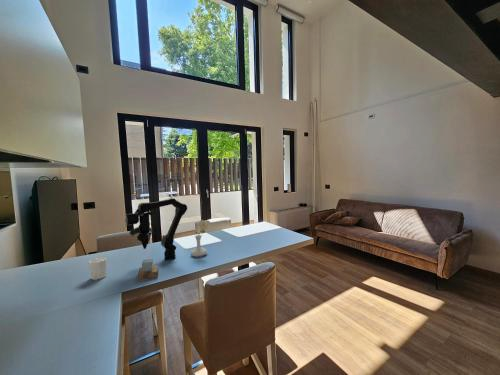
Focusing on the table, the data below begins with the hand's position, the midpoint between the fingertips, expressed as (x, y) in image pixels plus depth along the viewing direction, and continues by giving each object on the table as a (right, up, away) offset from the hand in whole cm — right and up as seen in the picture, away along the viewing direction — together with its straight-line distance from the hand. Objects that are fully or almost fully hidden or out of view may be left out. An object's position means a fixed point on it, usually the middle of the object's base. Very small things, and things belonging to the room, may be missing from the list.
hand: (145, 246), depth 134 cm
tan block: (+9, -13, -14) cm, 21 cm away
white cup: (-20, -14, -15) cm, 28 cm away
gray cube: (+8, -9, -14) cm, 19 cm away
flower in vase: (+31, -11, +15) cm, 36 cm away
